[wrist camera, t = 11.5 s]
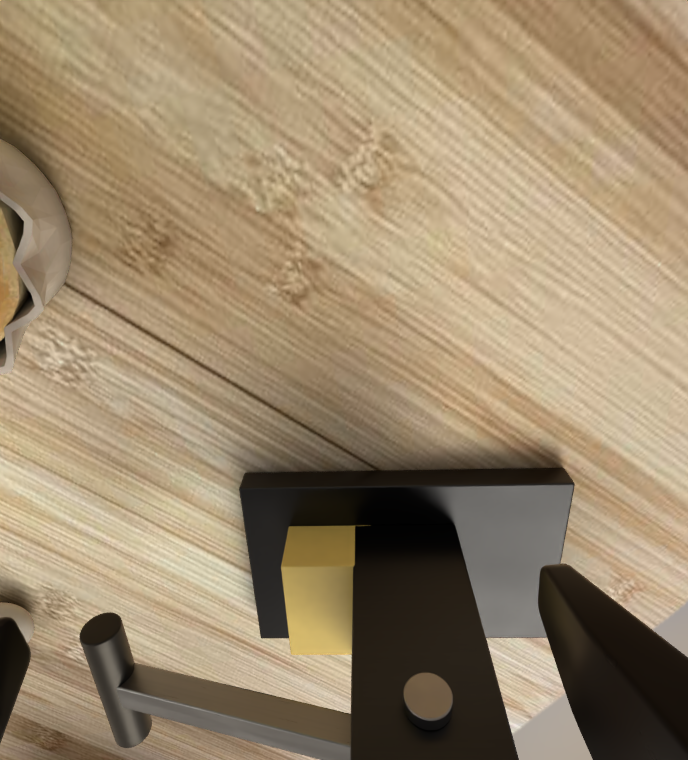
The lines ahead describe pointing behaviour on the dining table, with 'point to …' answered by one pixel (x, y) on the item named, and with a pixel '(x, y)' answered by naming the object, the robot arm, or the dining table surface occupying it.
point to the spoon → (19, 618)
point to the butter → (319, 588)
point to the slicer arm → (202, 702)
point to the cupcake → (28, 248)
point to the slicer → (421, 592)
